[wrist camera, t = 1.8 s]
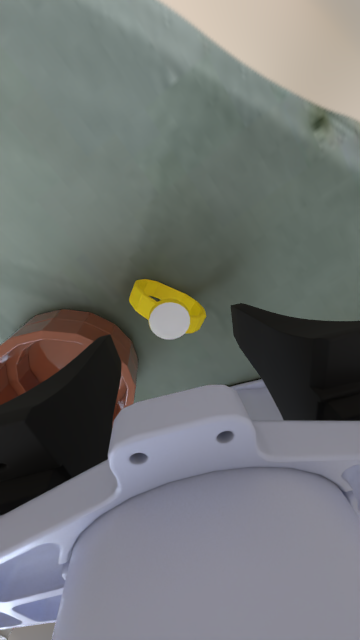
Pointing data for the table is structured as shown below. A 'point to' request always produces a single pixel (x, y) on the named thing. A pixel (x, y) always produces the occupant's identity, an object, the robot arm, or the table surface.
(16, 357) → the bowl
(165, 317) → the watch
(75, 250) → the table surface
